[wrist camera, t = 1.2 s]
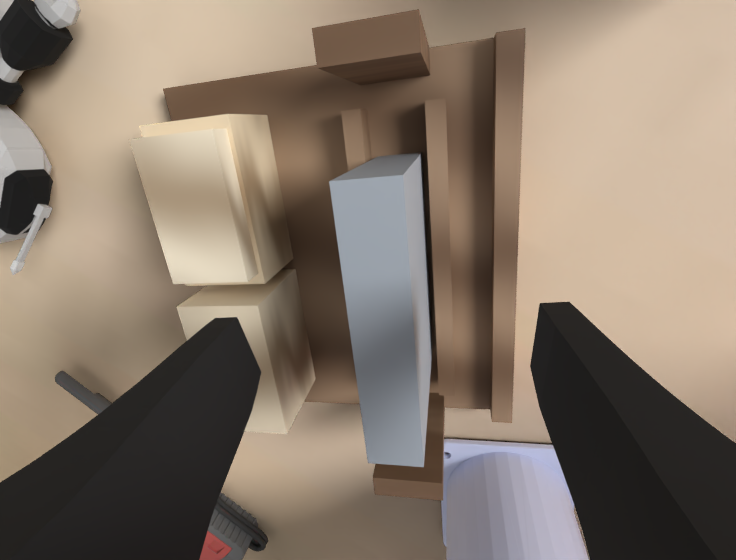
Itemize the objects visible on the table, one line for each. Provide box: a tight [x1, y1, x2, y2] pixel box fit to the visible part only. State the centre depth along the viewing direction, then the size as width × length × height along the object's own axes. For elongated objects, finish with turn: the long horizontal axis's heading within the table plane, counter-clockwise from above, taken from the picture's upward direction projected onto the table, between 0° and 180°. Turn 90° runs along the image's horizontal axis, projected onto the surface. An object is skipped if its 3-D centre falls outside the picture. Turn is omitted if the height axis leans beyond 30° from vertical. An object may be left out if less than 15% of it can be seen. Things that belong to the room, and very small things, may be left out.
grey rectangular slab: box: [329, 152, 432, 467], centre depth 16 cm, size 10×2×8 cm, turn 6°
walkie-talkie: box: [55, 371, 268, 560], centre depth 29 cm, size 9×4×20 cm
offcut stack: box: [129, 114, 316, 434], centre depth 19 cm, size 15×4×4 cm, turn 6°
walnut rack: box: [163, 10, 525, 501], centre depth 18 cm, size 18×16×7 cm
